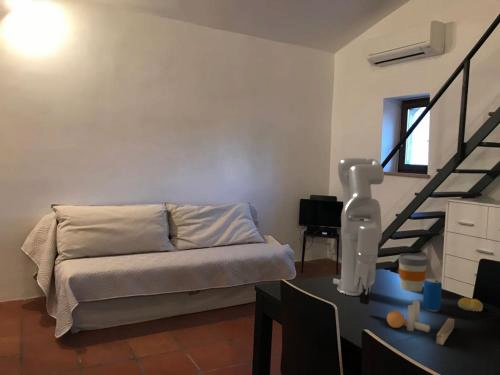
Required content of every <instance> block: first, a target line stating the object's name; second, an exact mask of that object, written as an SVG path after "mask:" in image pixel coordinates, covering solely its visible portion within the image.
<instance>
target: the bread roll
mask: <svg viewBox="0 0 500 375" xmlns="http://www.w3.org/2000/svg"><path fill="white" fill-rule="evenodd" d="M457 305H458V307H459V308H461V309H462V310H465V311H471V312H475V311H476V312H478V311H479V312H482V311H483V308H484V305H483V303H482V302H481V301H480V300H478V299H477V298H473V299H470V298H469V297H461V298H460V299H459V300H458V302H457Z"/></svg>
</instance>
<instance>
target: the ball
mask: <svg viewBox="0 0 500 375" xmlns="http://www.w3.org/2000/svg"><path fill="white" fill-rule="evenodd" d="M404 320H405V317H404V315H403V313H402V312H400V311H399V310H392V311H390V312H388V314H387V315H386V321H387V324H388V325H389V326H390V327H391V328H393V329H400V328H401V327H403V326H404Z"/></svg>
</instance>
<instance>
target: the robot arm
mask: <svg viewBox="0 0 500 375" xmlns="http://www.w3.org/2000/svg"><path fill="white" fill-rule="evenodd" d="M384 171H385V170H384V168H383V166H382V164H381V163H380V162H379V160H377V159H375V158H365V157H364V158H361V157H356V158H355V157H348V158H342V159H341V160H339V162H338V165H337V175H338V178H339V181H340V185H341V187H342V188H341V189H342V194H343V195H342V196H343V197H342V198H343V201H342V203H343V207H342V210H341V213H340V214H341V216H340V222H341V224H340V225H341V227H340V235H341V237H340V238H341V247H342V248H341V253H342V254H341V272H340V274H341V275H340V279H338V278H333V280H332V282H333V284H334V285H337V287H336V290H338V291H339V292H338V291H337V292H338V293H340V294H342V293H343V294H342V295H345V294H346V296H352V297H353V296H354V297H355V296H356V297H359V303H360V304H362V305H366V306H367V305H369V304H370V295H371V294H370V293H371V288H372V285H374V283H375V281H376V268H377V267H376V263H378V255H379V254H378V253H379V243H380V242H381V241H382V238H383V230H382V227H383V226H382V214H381V213H382V211H381V204H380V202H379V201H378V199H376V198H372V196H373V195H372V186H371V185H381V184H383V183H384V179H385V172H384ZM333 284H332V285H333Z"/></svg>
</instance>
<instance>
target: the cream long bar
mask: <svg viewBox="0 0 500 375" xmlns="http://www.w3.org/2000/svg"><path fill="white" fill-rule="evenodd" d="M454 328H455V319H453V318H449V317H448V318H447V319H446V321H445V323H443V325H442V326H441V328H440V329H439V331H437V334H436V339H435V340H436V342H435V345H436V344H437V345H440V346H443V345H444V344H445V342H446V340H447V339H448V338H449V335H450V334H451V333H452V332H453V329H454Z"/></svg>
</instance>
